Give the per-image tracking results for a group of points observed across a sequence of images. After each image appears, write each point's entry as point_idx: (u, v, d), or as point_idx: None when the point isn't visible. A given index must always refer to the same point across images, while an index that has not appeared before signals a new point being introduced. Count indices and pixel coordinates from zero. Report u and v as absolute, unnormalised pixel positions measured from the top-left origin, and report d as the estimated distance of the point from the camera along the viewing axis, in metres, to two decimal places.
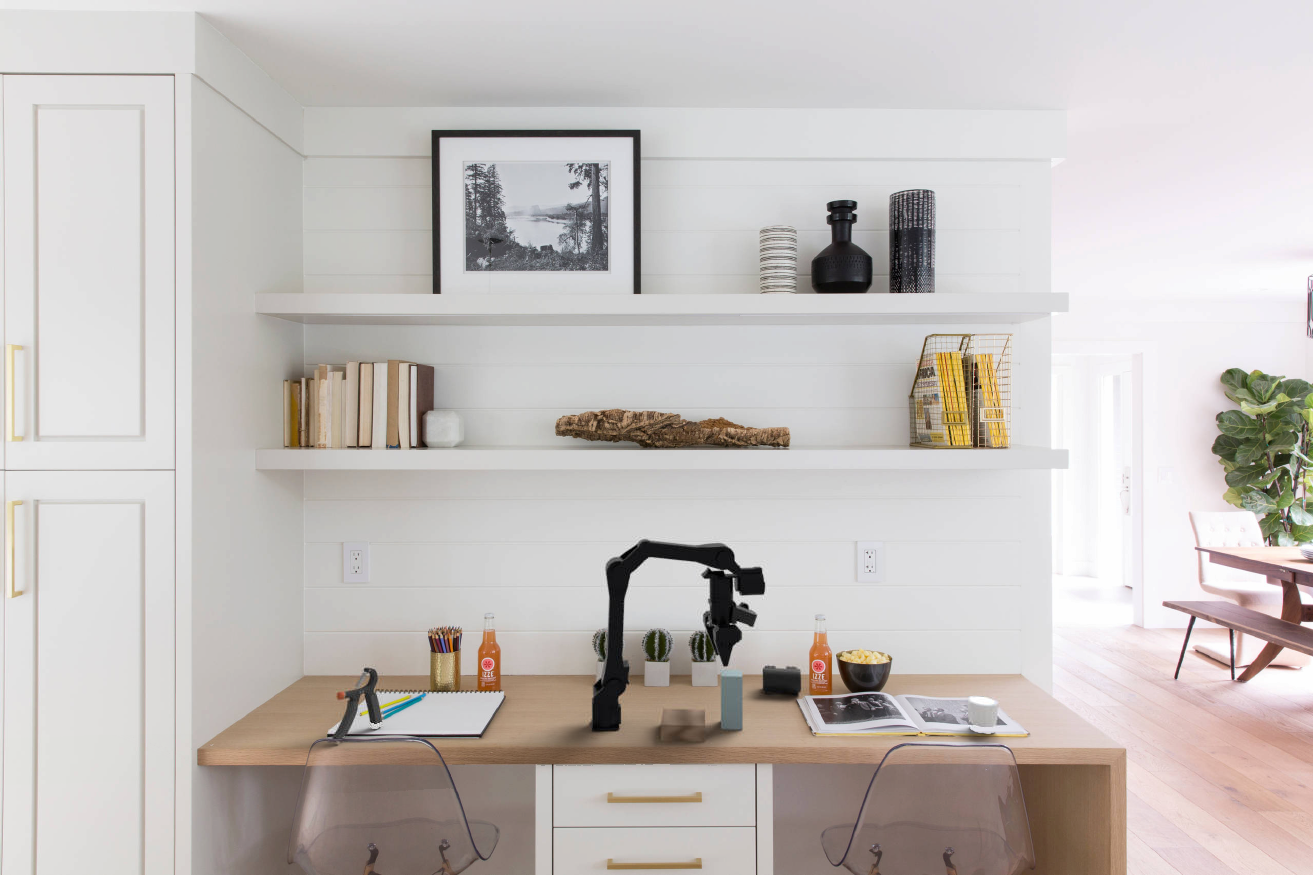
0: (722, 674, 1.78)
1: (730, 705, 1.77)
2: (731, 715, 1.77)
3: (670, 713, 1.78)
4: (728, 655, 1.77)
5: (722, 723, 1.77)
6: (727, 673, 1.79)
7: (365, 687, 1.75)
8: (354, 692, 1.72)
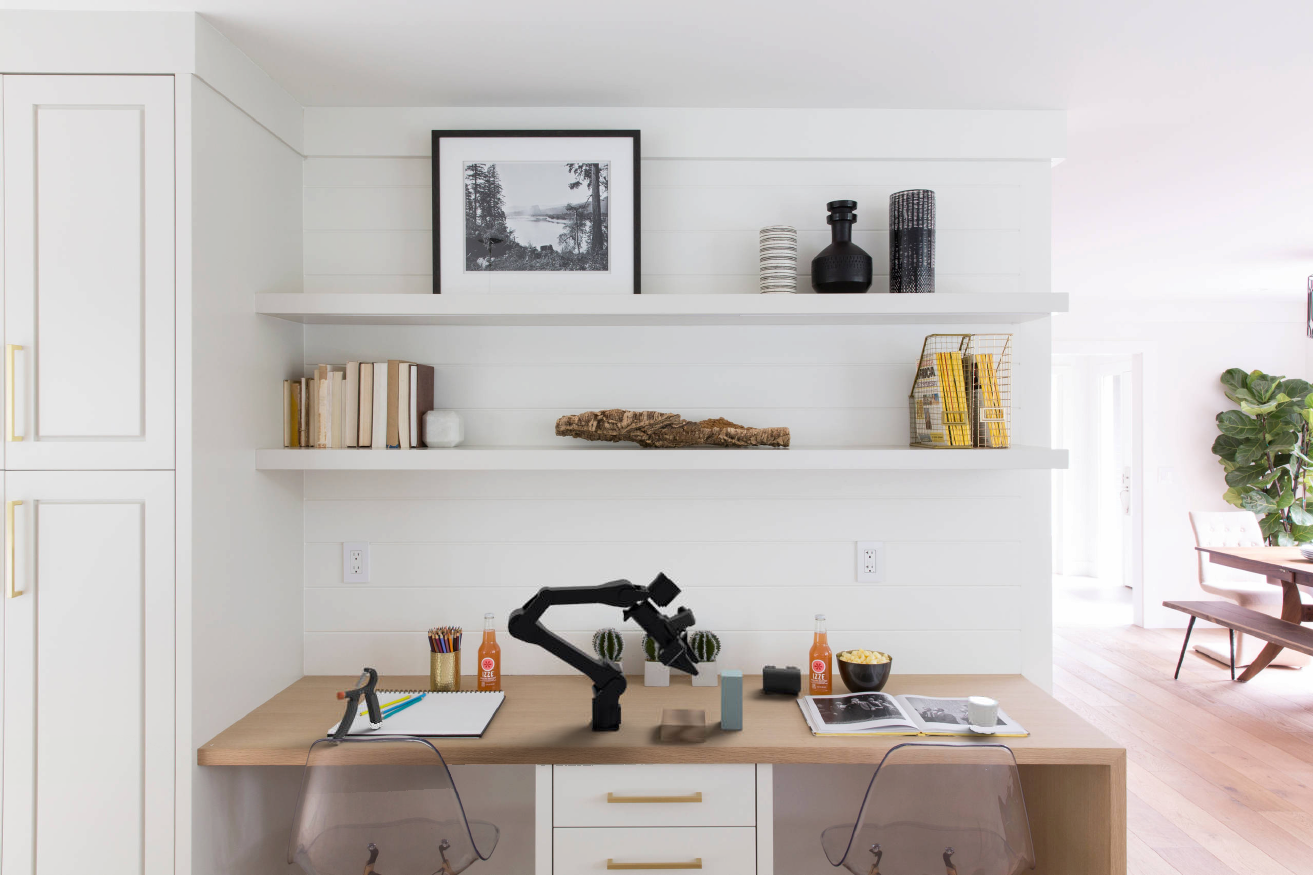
0: (722, 674, 1.78)
1: (730, 705, 1.77)
2: (731, 715, 1.77)
3: (670, 713, 1.78)
4: (690, 665, 1.74)
5: (722, 723, 1.77)
6: (727, 673, 1.79)
7: (365, 687, 1.75)
8: (354, 692, 1.72)
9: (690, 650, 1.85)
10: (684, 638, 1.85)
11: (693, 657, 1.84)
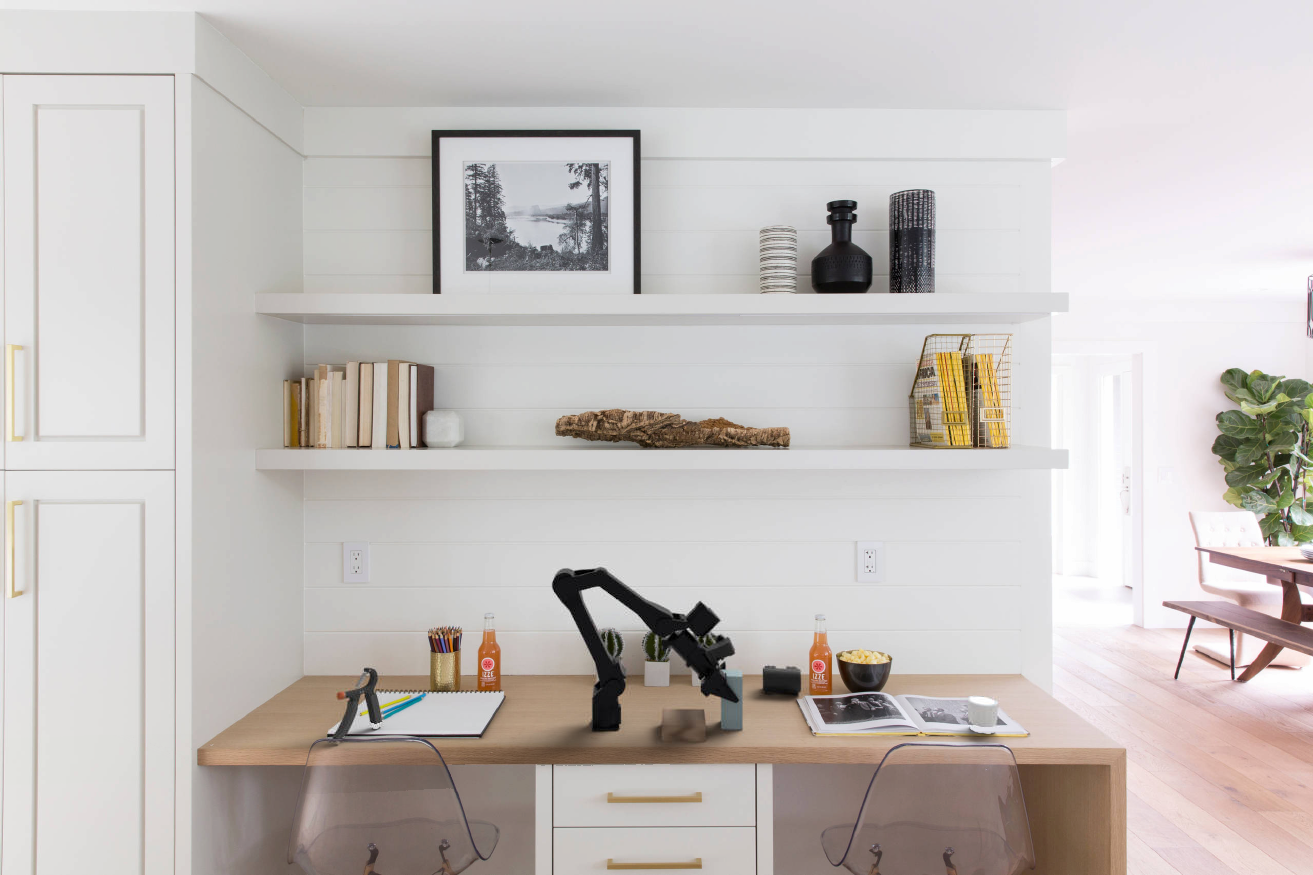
0: None
1: (730, 705, 1.77)
2: (731, 715, 1.77)
3: (670, 713, 1.78)
4: (731, 693, 1.76)
5: (722, 723, 1.77)
6: (728, 673, 1.79)
7: (365, 687, 1.75)
8: (354, 692, 1.72)
9: None
10: (722, 669, 1.83)
11: None
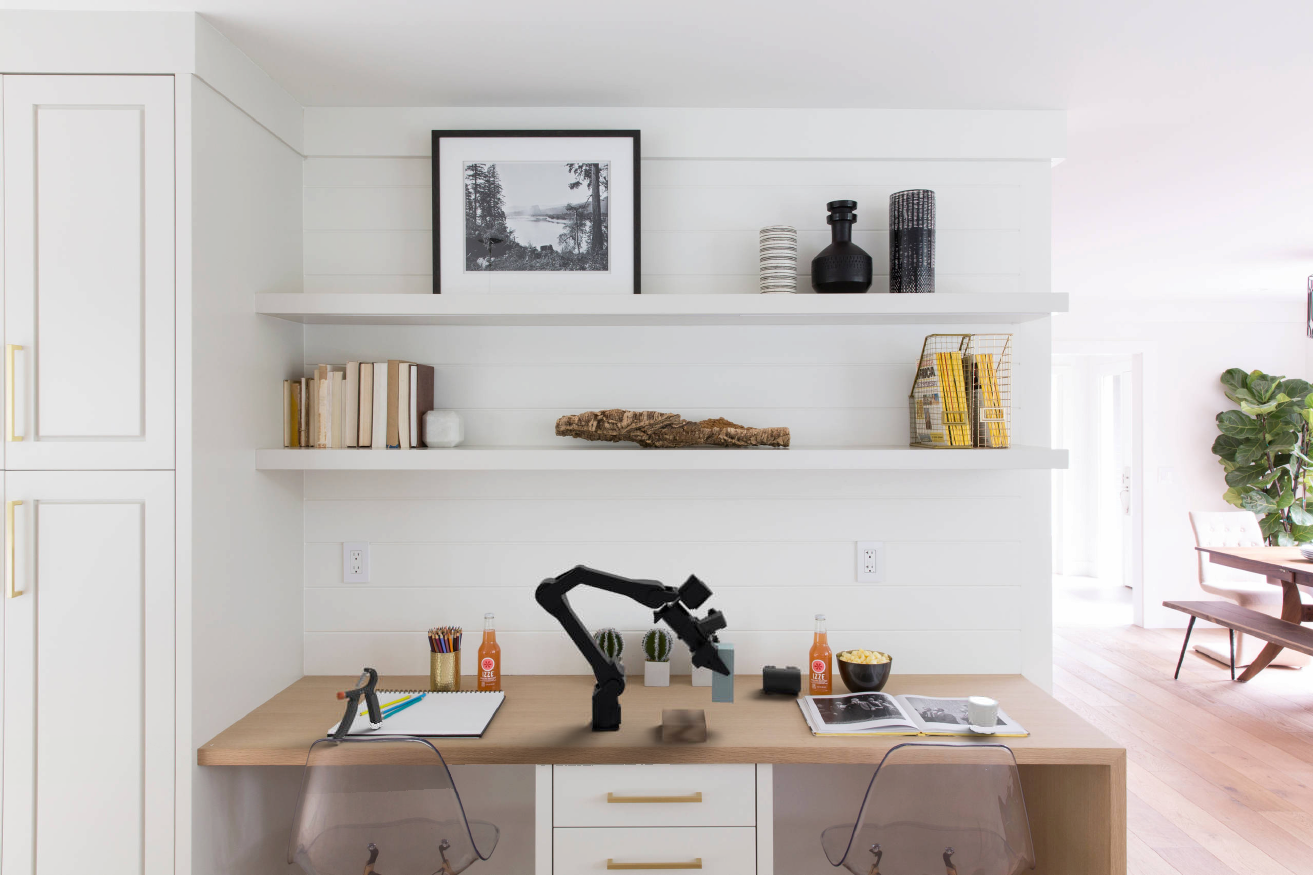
0: None
1: (721, 678, 1.76)
2: (722, 688, 1.76)
3: (669, 713, 1.78)
4: (722, 665, 1.75)
5: (713, 696, 1.76)
6: (719, 646, 1.78)
7: (365, 687, 1.75)
8: (354, 692, 1.72)
9: None
10: (714, 642, 1.82)
11: None
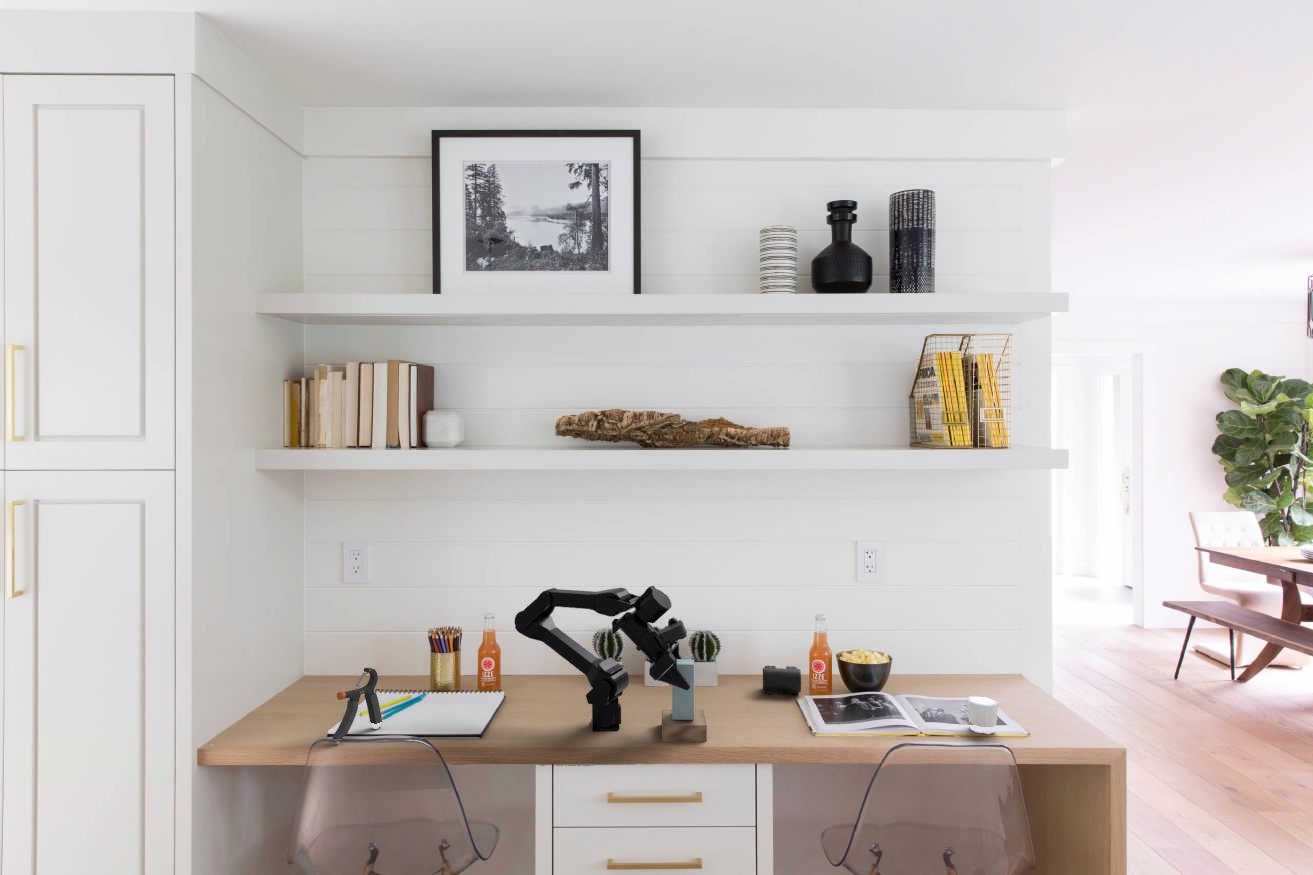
0: None
1: (681, 694, 1.73)
2: (682, 704, 1.73)
3: (669, 713, 1.77)
4: (681, 679, 1.70)
5: (673, 713, 1.73)
6: (679, 662, 1.76)
7: (365, 687, 1.75)
8: (354, 692, 1.72)
9: None
10: (675, 650, 1.80)
11: None
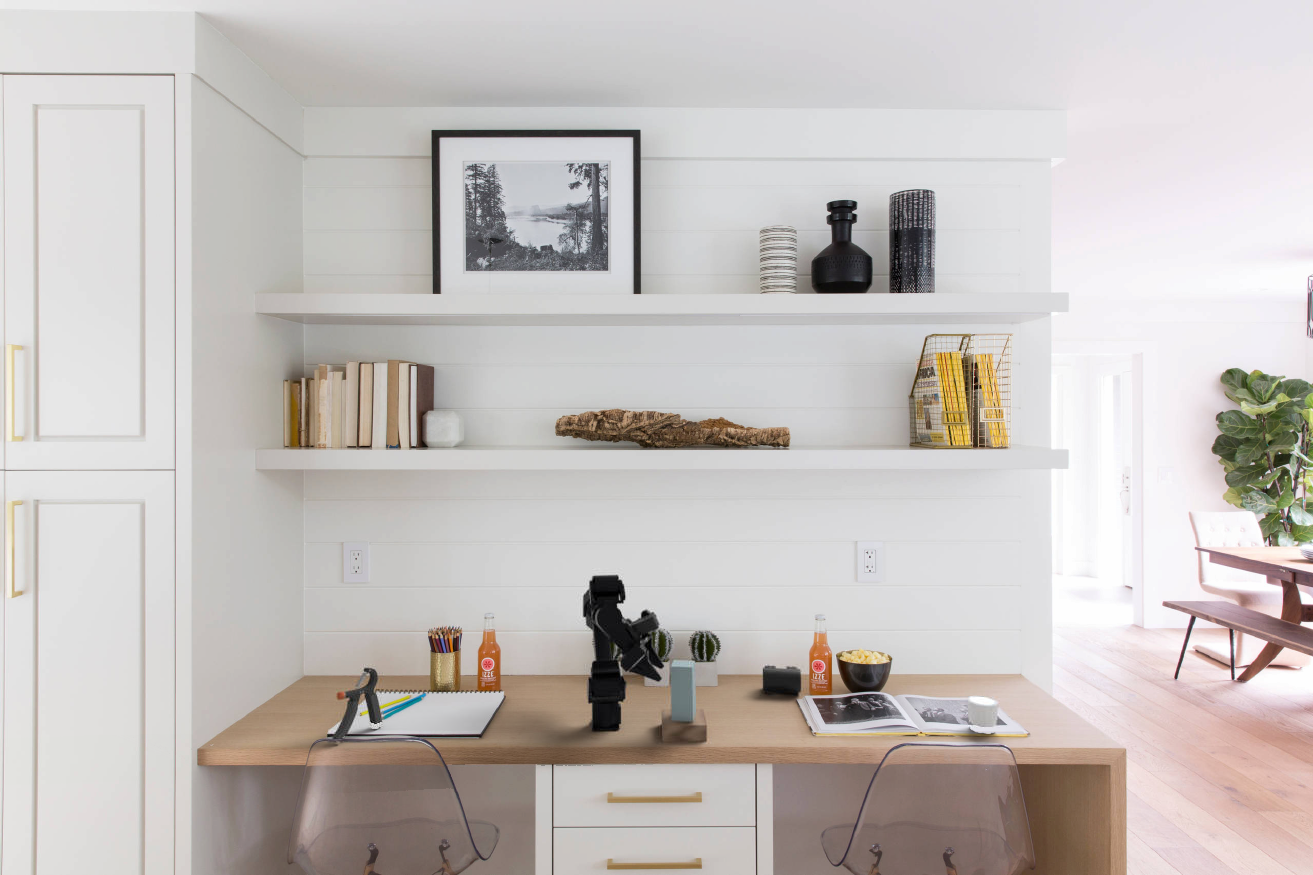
0: (672, 664, 1.74)
1: (680, 696, 1.73)
2: (681, 706, 1.73)
3: (669, 713, 1.78)
4: (652, 671, 1.70)
5: (672, 714, 1.73)
6: (678, 663, 1.75)
7: (365, 687, 1.75)
8: (354, 692, 1.72)
9: (654, 655, 1.80)
10: (648, 642, 1.81)
11: (658, 662, 1.80)
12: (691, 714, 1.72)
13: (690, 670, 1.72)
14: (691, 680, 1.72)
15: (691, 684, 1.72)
